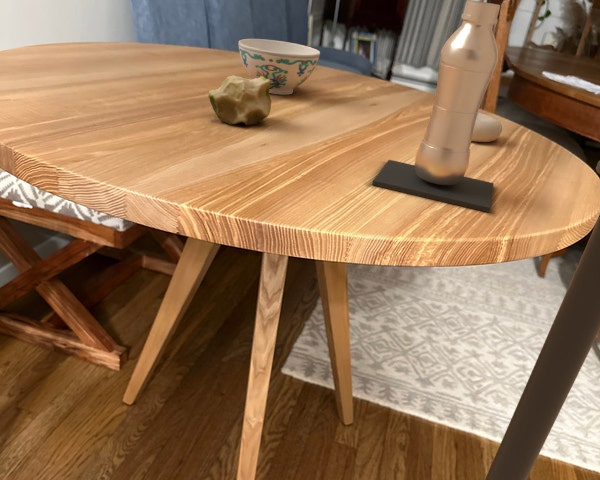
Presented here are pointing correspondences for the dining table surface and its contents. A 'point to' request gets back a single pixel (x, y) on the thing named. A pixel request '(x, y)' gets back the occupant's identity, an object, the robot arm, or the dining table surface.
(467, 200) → the mat
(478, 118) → the donut
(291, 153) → the dining table surface
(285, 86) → the chinaware
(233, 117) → the fruit
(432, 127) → the plastic bottle
